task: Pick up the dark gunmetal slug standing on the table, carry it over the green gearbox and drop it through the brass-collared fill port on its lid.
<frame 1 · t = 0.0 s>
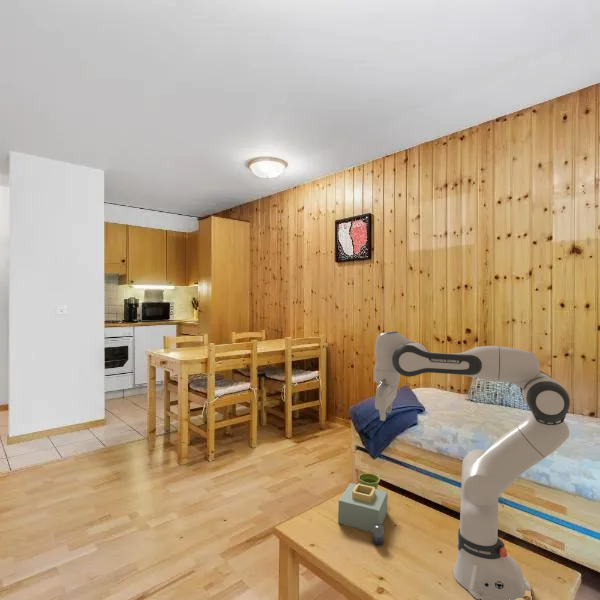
hand: (385, 416, 137), 48 cm above the table, fingers open, 8 cm apart
slug: (377, 542, 142), on the table
gearbox: (363, 517, 158), on the table
plant pot: (368, 497, 174), on the table
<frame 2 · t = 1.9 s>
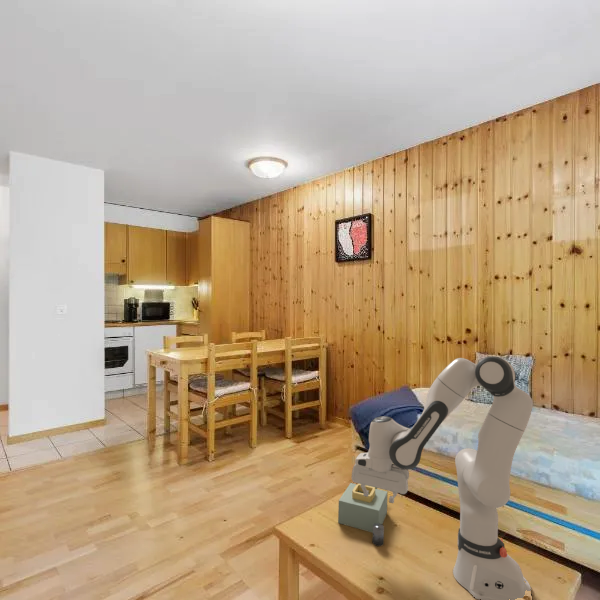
hand: (378, 498, 142), 16 cm above the table, fingers open, 8 cm apart
nothing on the table moved.
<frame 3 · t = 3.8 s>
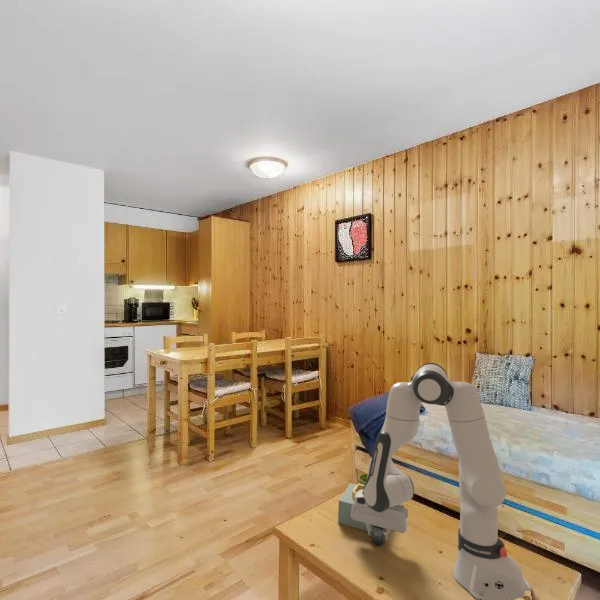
hand: (378, 536, 142), 2 cm above the table, fingers closed on slug, 4 cm apart
slug: (377, 542, 142), on the table, touching gripper
everything else where it was.
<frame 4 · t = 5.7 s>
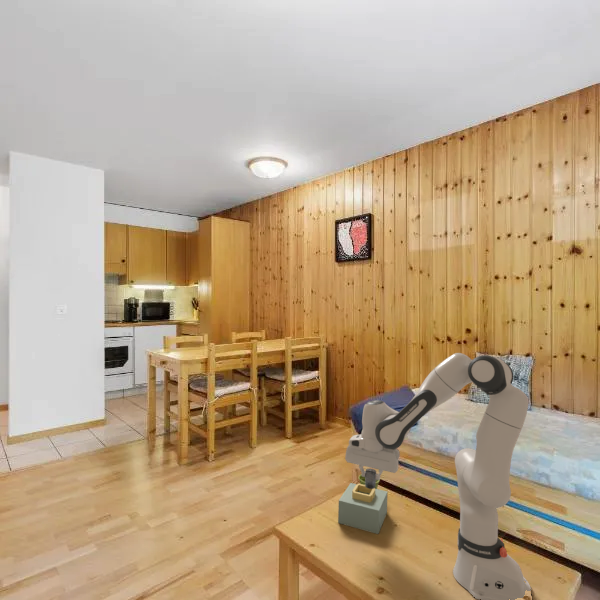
hand: (370, 477, 150), 20 cm above the table, fingers closed on slug, 4 cm apart
slug: (370, 486, 150), point 17 cm above the table, touching gripper
everything else where it was.
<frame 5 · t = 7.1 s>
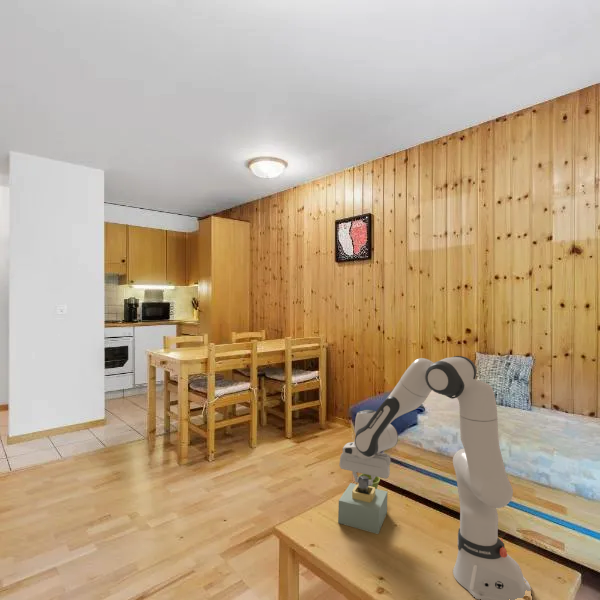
hand: (363, 483, 157), 14 cm above the table, fingers closed on slug, 4 cm apart
slug: (363, 492, 157), point 10 cm above the table, touching gripper
everything else where it was.
when the fingers open (12 cm above the table, at t = 7.8 s): slug drops 6 cm and tips over, resting on gearbox.
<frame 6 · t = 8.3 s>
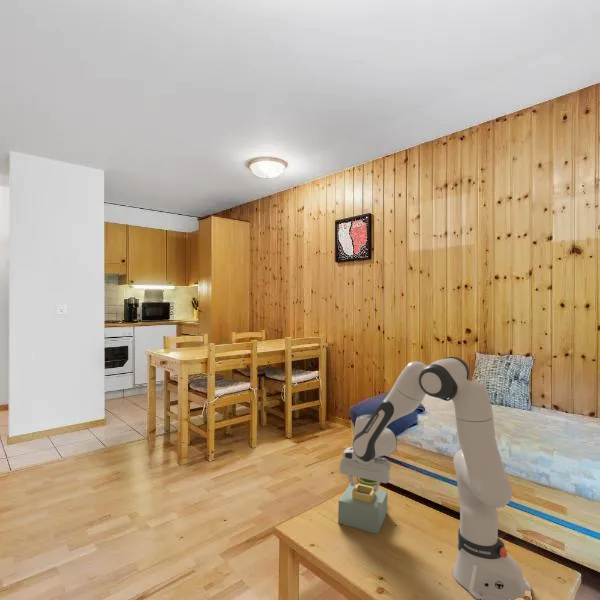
hand: (364, 488, 158), 12 cm above the table, fingers open, 8 cm apart
slug: (362, 512, 158), point 2 cm above the table, tilted 40°, touching gearbox
everything else where it was.
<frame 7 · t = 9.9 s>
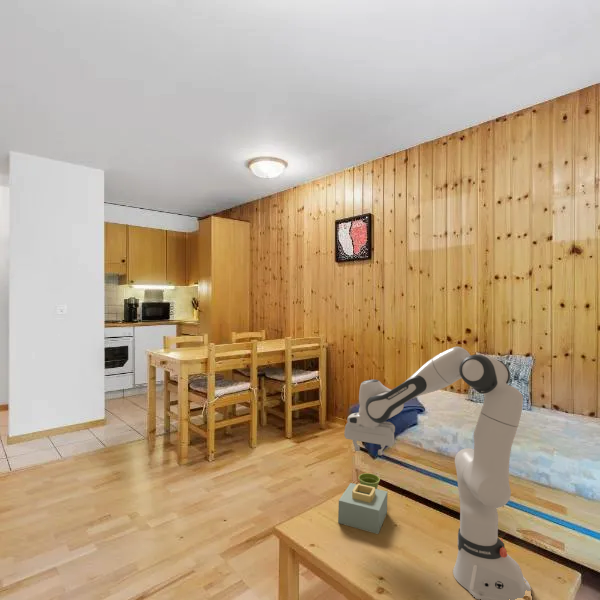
hand: (368, 452, 159), 26 cm above the table, fingers open, 8 cm apart
nothing on the table moved.
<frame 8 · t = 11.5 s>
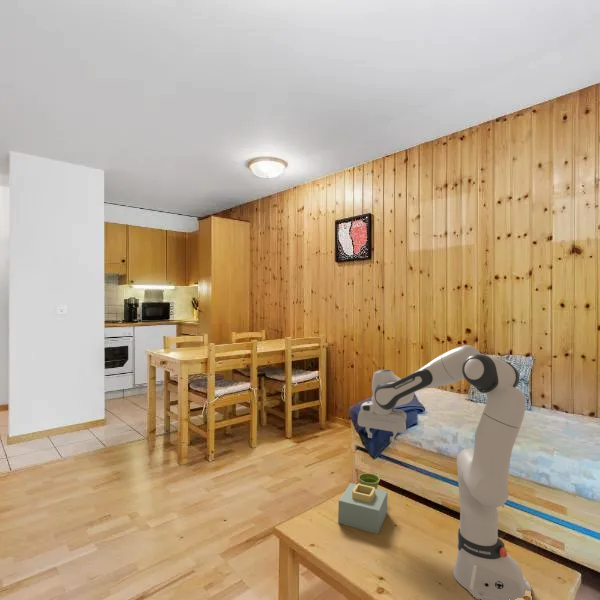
hand: (380, 439, 166), 29 cm above the table, fingers open, 8 cm apart
nothing on the table moved.
at the end: slug inside the target area on the gearbox (0.5 cm from its centre), point 2.3 cm above the gearbox's base; the gripper is holding nothing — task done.
